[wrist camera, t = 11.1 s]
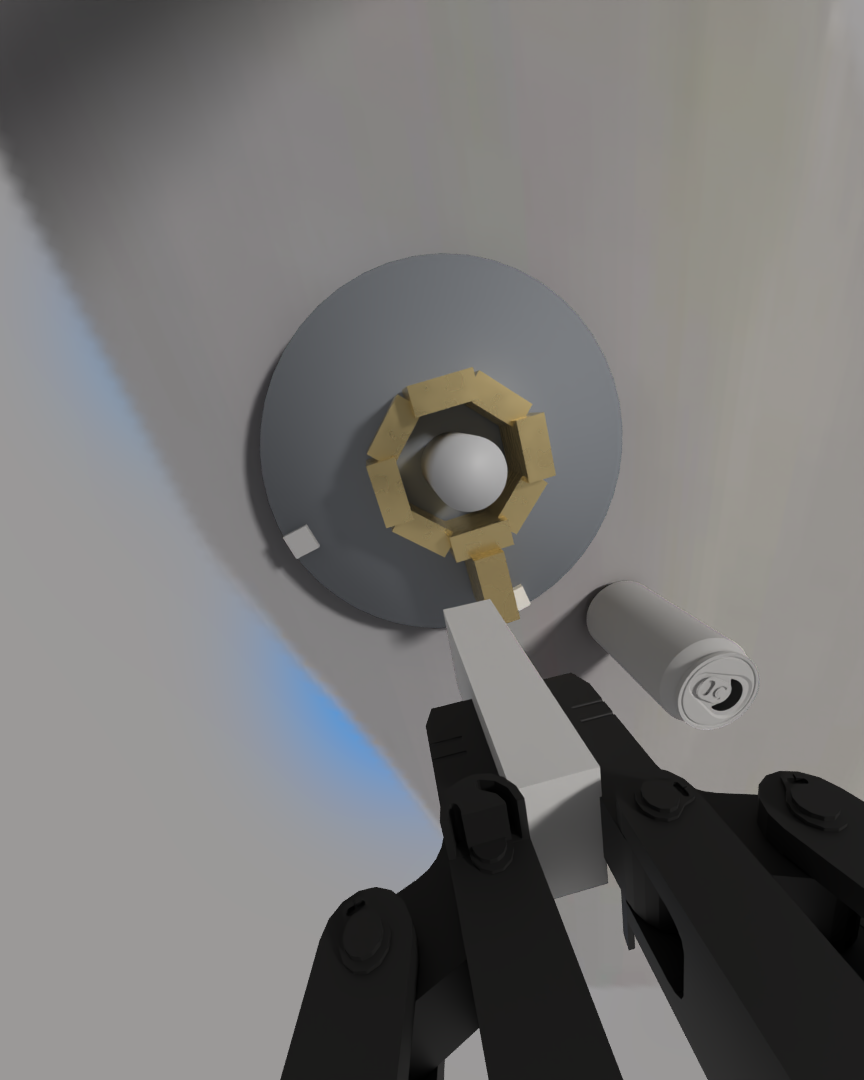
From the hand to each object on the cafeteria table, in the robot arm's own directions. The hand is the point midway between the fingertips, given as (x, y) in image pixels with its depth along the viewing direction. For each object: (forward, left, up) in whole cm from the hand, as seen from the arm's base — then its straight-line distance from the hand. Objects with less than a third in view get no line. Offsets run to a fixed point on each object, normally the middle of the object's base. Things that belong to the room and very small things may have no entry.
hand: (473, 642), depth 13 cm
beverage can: (-12, +17, -21) cm, 29 cm away
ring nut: (-4, 0, -18) cm, 18 cm away
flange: (-4, -2, -20) cm, 21 cm away
